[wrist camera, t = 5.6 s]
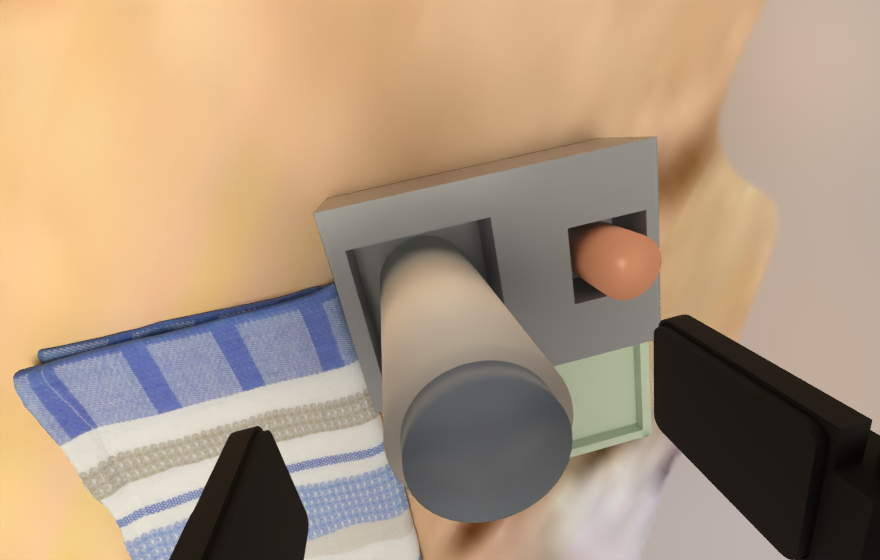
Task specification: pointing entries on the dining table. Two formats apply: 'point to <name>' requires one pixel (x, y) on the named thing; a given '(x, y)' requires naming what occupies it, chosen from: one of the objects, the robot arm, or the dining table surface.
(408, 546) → the dish towel
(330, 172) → the dining table surface
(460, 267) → the cylinder
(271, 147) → the dining table surface
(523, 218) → the housing
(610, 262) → the plunger
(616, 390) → the tray
